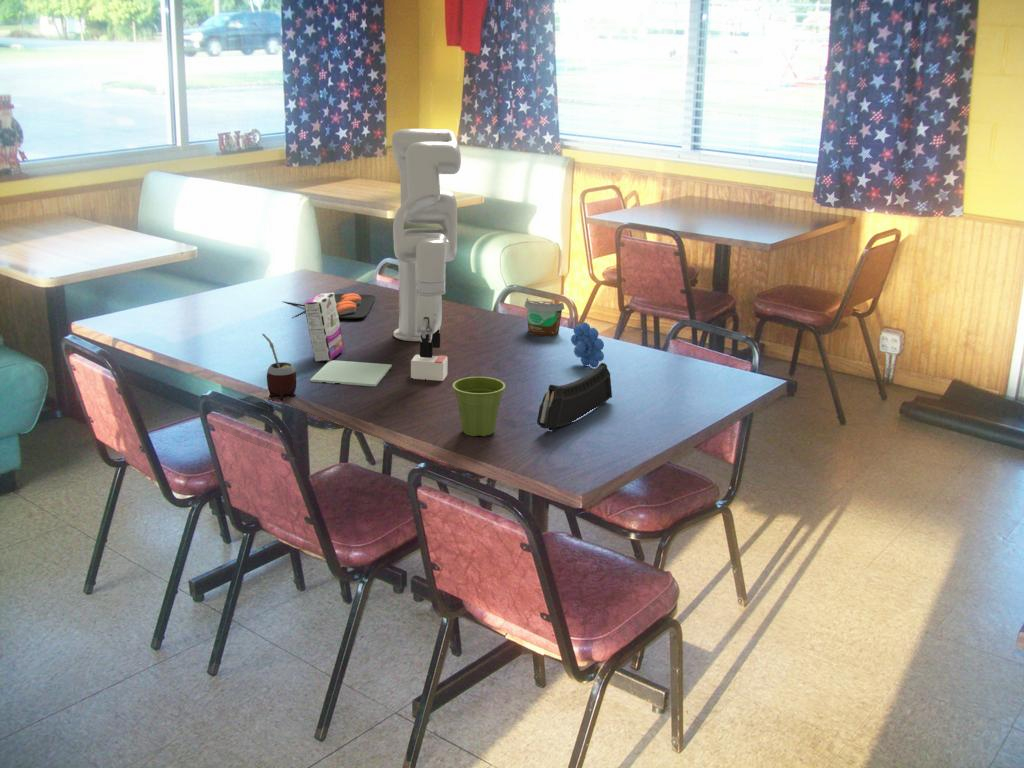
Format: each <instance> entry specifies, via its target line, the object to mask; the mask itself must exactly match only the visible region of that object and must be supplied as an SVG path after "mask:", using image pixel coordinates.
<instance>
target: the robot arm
mask: <svg viewBox="0 0 1024 768" xmlns="http://www.w3.org/2000/svg"><path fill="white" fill-rule="evenodd" d="M391 148H392V150H391V151H392V154H393V156H394V159H395V162H396V164H397V168H398V172H399V177H400V181H399V183H400V186H399V187H400V189H399V190H400V206H399V208H398V209H397V211H396V212H395V215H394V218H393V224H392V237H393V238H392V239H393V251H394V256H395V258H396V259H397V264H398V266H397V268H398V328H396V329H395V330H394V331H393V337H395V338H396V339H398V340H402V341H406V342H419V355H420V357H425V358H432V356H434V353H433V351H434V349H440V348H441V326H442V323H443V322H442V318H443V307H442V306H443V305H442V304H443V303H442V301H443V299H442V298H443V297H442V295H445V294H446V263H448V262H452V261H453V260H455V258H456V256H457V252H458V202H457V199H456V196H455V194H454V193H453V192H452V191H450V190H447V189H444V190H443V189H441V187H440V175H455V174H457V173H458V172H459V171H460V169H461V164H462V157H461V155H462V154H461V150H460V146H459V142H458V139H457V137H456V135H455V133H454V131H452V130H450V129H443V128H442V129H441V128H439V129H438V128H437V129H435V128H403V129H398V130H396V131H394V132H393V134H392V136H391ZM405 223H406V224H415V225H419V224H420V225H421V224H422V225H439V226H441V227H440V228H428V227H427V228H417V227H416V228H415V227H414V228H406V229H404V228H405Z"/></svg>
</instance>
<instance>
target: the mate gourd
mask: <svg viewBox="0 0 1024 768" xmlns="http://www.w3.org/2000/svg"><path fill="white" fill-rule="evenodd" d="M261 335H262V336H263V337H264V339H266V341H267V342H268V343H269V347H270V349H271V351H272V355H273V357H274V361H275V362H274V363H271V364H270V365H269V366H268V369H267V373H266V385H267V389H268V393H269V395H268V397H269V398H270V399H272V398H279V400H280V402H284V399H285V398H295V397H296V394H295V392H296V389H297V371H296V368H295V367H294V366H293V365H292V364H291V363H289V362H285V361H284V362H283V361H282V362H279V359H278V357H277V354H276V353H277V352H276V351H275V346H274V343H272V341H271V339H270V338H269V337H268V336H267V335H266V334H265V333H262V334H261Z"/></svg>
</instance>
